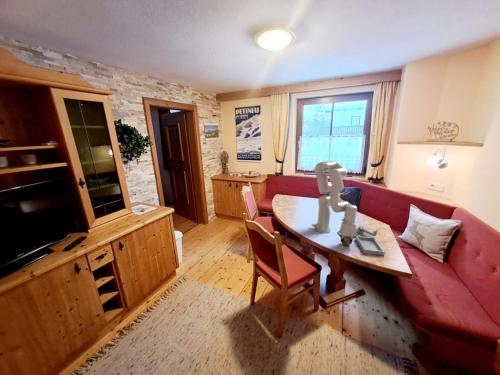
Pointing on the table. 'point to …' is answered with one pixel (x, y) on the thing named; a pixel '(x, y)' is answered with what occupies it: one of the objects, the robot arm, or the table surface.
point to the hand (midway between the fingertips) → (346, 242)
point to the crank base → (362, 233)
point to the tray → (369, 245)
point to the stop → (346, 241)
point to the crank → (367, 231)
